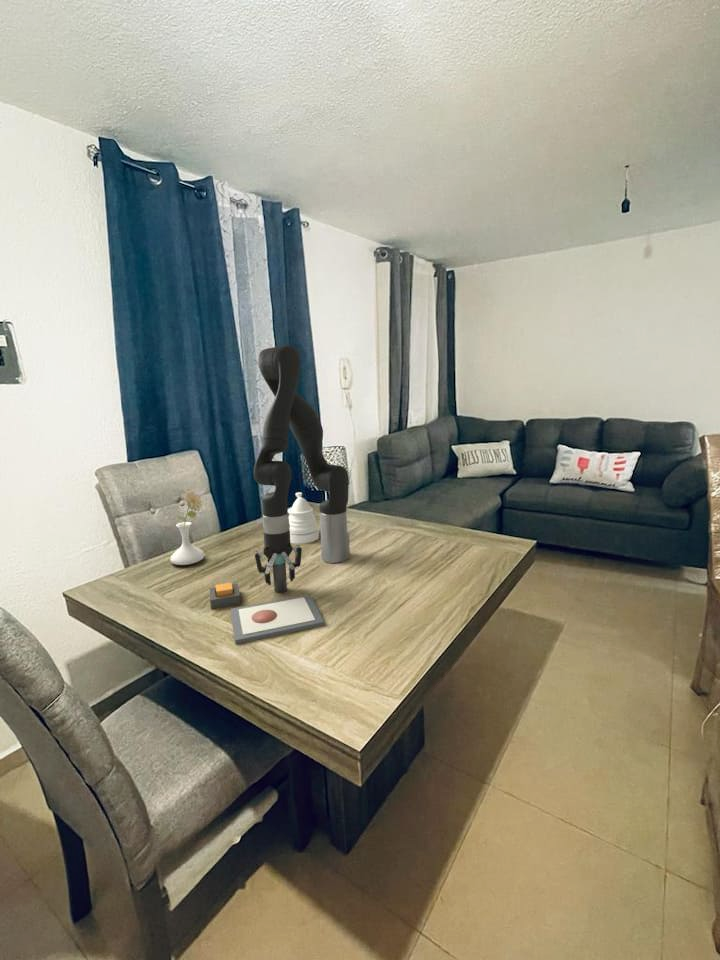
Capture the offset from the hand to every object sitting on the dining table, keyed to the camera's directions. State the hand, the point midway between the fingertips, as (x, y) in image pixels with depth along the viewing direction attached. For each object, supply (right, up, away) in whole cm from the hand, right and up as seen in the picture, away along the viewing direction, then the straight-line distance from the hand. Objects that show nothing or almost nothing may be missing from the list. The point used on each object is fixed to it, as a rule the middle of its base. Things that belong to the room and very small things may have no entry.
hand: (280, 581), depth 132 cm
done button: (-15, -2, -5) cm, 16 cm away
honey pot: (+1, +7, +44) cm, 45 cm away
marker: (0, -3, +1) cm, 3 cm away
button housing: (-15, -4, -5) cm, 16 cm away
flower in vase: (-36, +2, +24) cm, 44 cm away
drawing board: (+2, -6, -15) cm, 17 cm away
